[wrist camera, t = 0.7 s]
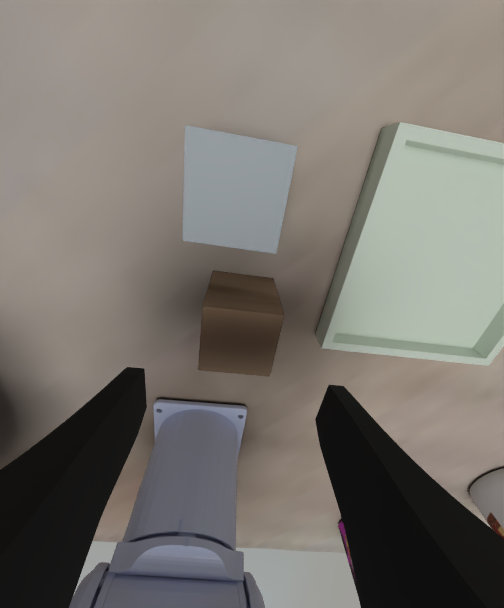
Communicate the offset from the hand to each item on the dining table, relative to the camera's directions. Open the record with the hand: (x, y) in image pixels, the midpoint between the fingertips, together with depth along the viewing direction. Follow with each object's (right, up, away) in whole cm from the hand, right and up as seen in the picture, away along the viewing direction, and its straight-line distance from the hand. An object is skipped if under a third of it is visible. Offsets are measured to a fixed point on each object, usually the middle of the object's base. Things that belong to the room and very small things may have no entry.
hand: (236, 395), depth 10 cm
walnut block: (0, +4, +7) cm, 8 cm away
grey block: (0, +10, +4) cm, 11 cm away
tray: (+13, +6, +7) cm, 16 cm away
